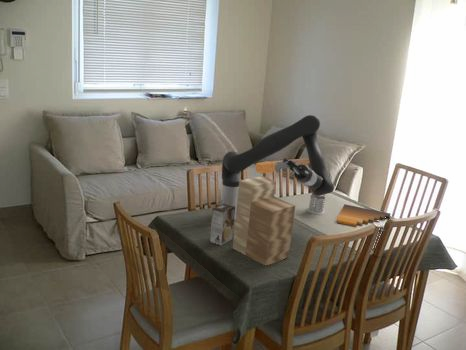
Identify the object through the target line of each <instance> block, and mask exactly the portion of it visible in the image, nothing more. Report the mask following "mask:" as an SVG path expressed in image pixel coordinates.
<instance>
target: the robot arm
mask: <svg viewBox="0 0 466 350" xmlns="http://www.w3.org/2000/svg"><path fill="white" fill-rule="evenodd" d="M320 126H321V121H320V118H318V117H317V115H314V114H309V115H306V116H304V117H302V118H301V119H299V120H298V121H296V122H295V123H293V124H291V125H289V126H286V127H284V128H281V129H279V130H277V131H275V132H272V133H270V134H269V135H267V136H265V137H263V138H261V139H260V140H259V141H258V142H256V143H255V145H254V146H253V147H251V148H250V149H248V150H246V151H244V152H242V153H238V152H236V151H232V150H231V151H228V152H226V154H224V156H223V158H222V164H221V165H222V166H221V167H222V168H221V180H222V183H221V194H220V195H221V196H220V198H219V201H218V203H219V204H218V206H219V205H221V204H227V205H231V206H234V207H235V215H234V221H235V220H236V210H237V200H238V190H239V181H240V180H242V179H241V174H240V173H242V172H243V171H245V170H246V169H248V168H249V167H251V166H253V165H254V164H256V163H259V161H262V160H263V159H266V158H268V157H270V156H272V155H275V154H276V153H278V152H280V151H282V150H284V149H285V148H287V147H288V146H290V145H291V144H292V143H294V142H295V141H297V140H298V139H300V138H302V139H303V141H304V145H305V148H306V152H307V155H308V160H309V161H308V162H309V166H310V167H309V166H308V165H306V164H298V163H294V162H292V161H291V160H292V159H291V160H290V159H289V160H288V159H287V158H283V160H282V162H284V161H288V165H289V166H290V167H291V168H285V169H288V170H289V171H291V172H292V174H293V176H294V178H295V179H296V180H298V181H299V182H300V183H302V184H303V185H305V186H307V187H309V189H310V191H311V193H312V192H313V194H314V195H316V196H320V195H324V194H325V195H328V194H331V193H332V192H333V191H334V189H335V188H334V183H333V181H332V179H331V178H330V176H329V173H328V172H327V168H326V163H325V160H324V157H323V153H322V151H321V149H320V146H319V142H318V138H317V131H319V129H320Z"/></svg>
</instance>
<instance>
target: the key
mask: <svg viewBox="0 0 466 350" xmlns="http://www.w3.org/2000/svg"><path fill="white" fill-rule="evenodd" d="M288 161H289V160H288ZM288 161H284V162H283V161H279V162H273V161H272V160H271V161H270V160H268V161H267V160H265V161H261V162H256V163H255V172H256V173H259V174H260V175H261V174H266V173H272V172H273V173H274V172H275V171H280V170H285V169H286V168H287V169H288V168H291V167H290V166H289V165H288ZM291 161H292V162H294V163H296V162H297V161H295V160H294V159H293V160H292V159H291ZM296 164H297V163H296Z"/></svg>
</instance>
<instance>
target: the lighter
mask: <svg viewBox="0 0 466 350" xmlns="http://www.w3.org/2000/svg"><path fill="white" fill-rule="evenodd" d="M378 227H379V228H380V230H379V233H378V236H377V239H376V242H375V245H374V248H373V249H376V248H375V246H376V244H377V241H378V239H379V236H380V234H381V232H382V230H384V229H383V227H384V228H385V226H384V225H381V226H378Z"/></svg>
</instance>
